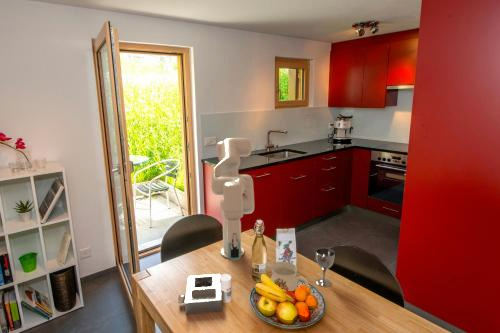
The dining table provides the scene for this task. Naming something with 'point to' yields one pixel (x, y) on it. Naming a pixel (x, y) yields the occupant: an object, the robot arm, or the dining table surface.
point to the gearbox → (202, 294)
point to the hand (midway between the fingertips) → (234, 253)
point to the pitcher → (285, 275)
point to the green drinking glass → (230, 252)
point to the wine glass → (324, 264)
